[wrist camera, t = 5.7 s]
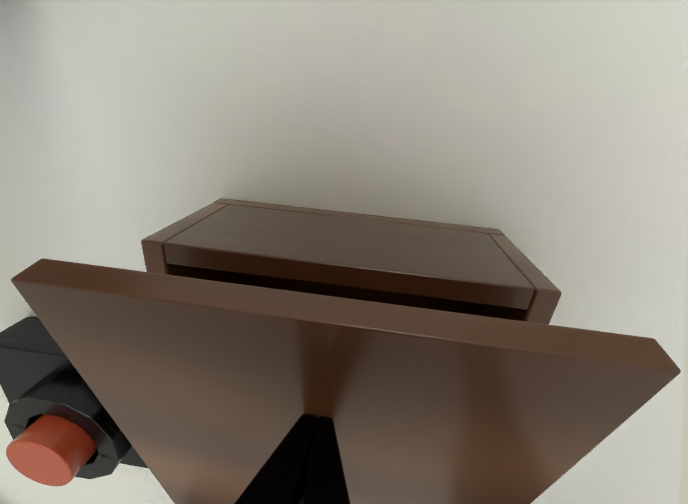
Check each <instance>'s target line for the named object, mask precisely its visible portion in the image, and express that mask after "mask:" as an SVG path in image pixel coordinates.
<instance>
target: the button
mask: <svg viewBox="0 0 688 504" xmlns="http://www.w3.org/2000/svg"><path fill="white" fill-rule="evenodd" d="M96 450H97V447H96V445H95V442H94V440H93V439H92V438H91V437H90V436H89V435H88V434H87V433H86V432H85V431H84V430H83V429H82V428H81V427H80V426H78V425H76V424H74V423H72V422H70V421H68V420H66V419H64V418H62V417H58V416H52V415H46V414H44V415H42V416H41V417H39V418H38V419H37V420H36V421H35V422H34V423H32V424H31V425H30V426H29V427H28V428H27V429H26V430H25V431H23V432H22V433H21V434H20V435H19V436H18V437H17V438H15V439H14V440H13V441H12V442H11V443H10V444H9V445H8V447H7V449H6V455H7V458H8V460H9V461H10V463H11V464H12V465H13V466H14V467H15V468H16V469H17V470H18V471H19V472H20V473H22V474H23V475H25V476H26V477H28V478H30V479H32V480H34V481H36V482H39V483H42V484H45V485H50V486H63V485H66V484H67V483H69V482H70V481H71V480H72V479H73V478H74V477H75V475H76V474H77V473H78V472H79V471H80V470H81V468H82V467H83V466H84V465H85V464H86V463H87V461H88V460H89V459H90V458H91V457H92V456H93V454H94V453H95V452H96Z"/></svg>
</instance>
